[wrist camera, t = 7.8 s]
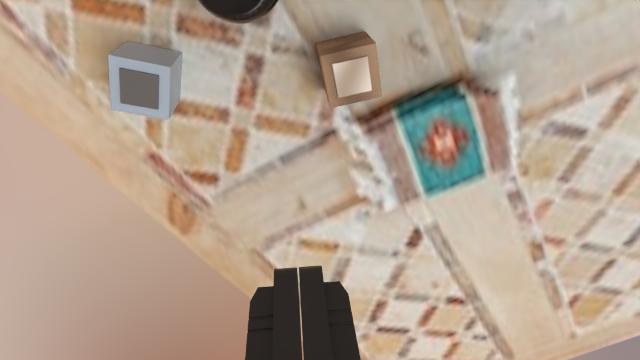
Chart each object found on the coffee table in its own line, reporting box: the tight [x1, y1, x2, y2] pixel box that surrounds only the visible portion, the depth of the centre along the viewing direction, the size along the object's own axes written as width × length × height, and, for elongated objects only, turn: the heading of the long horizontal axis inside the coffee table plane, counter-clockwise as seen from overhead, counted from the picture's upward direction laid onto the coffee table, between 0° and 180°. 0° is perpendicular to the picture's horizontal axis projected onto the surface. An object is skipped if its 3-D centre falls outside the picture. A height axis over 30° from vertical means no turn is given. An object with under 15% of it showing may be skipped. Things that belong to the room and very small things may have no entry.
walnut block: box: [316, 32, 382, 108], centre depth 37 cm, size 5×5×5 cm
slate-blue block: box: [108, 41, 182, 120], centre depth 36 cm, size 5×5×5 cm
